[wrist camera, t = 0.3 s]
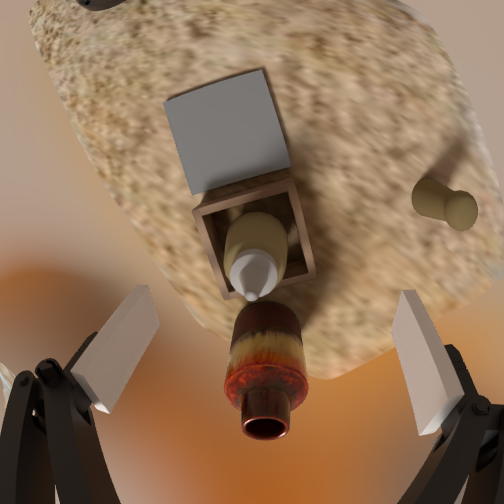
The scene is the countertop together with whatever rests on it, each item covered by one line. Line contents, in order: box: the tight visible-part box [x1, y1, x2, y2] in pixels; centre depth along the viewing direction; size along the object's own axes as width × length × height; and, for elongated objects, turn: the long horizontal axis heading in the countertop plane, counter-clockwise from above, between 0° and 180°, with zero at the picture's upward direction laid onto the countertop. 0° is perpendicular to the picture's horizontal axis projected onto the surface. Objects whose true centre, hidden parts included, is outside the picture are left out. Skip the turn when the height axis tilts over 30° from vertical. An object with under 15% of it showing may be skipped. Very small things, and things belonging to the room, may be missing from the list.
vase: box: [224, 301, 309, 440], centre depth 36 cm, size 11×11×20 cm
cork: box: [412, 178, 478, 231], centre depth 32 cm, size 6×6×11 cm
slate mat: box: [163, 70, 292, 195], centre depth 35 cm, size 14×14×1 cm
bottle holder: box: [192, 178, 318, 300], centre depth 38 cm, size 13×13×5 cm
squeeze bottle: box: [223, 211, 288, 301], centre depth 32 cm, size 8×8×18 cm
